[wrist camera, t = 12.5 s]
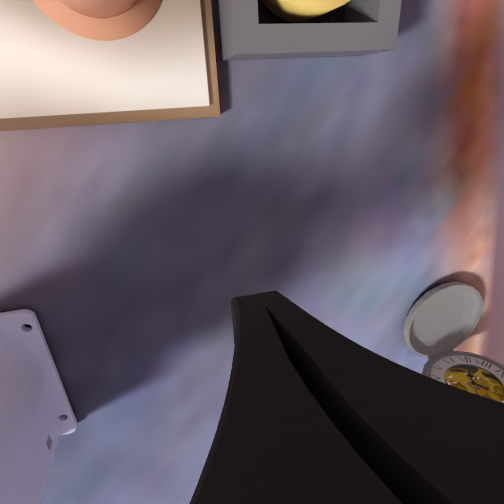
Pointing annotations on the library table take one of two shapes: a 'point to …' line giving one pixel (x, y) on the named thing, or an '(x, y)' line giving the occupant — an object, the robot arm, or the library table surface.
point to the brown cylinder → (99, 7)
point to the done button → (302, 8)
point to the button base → (308, 32)
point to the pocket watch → (452, 339)
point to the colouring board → (105, 64)
